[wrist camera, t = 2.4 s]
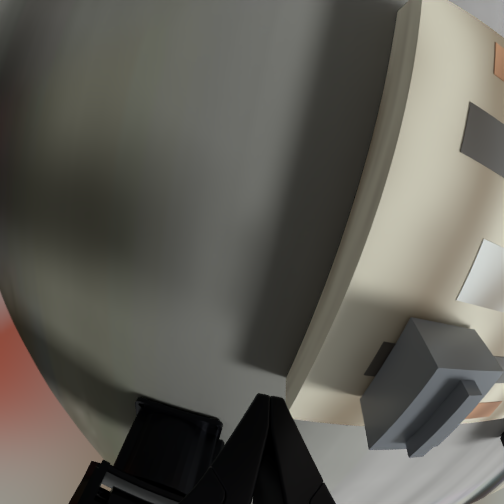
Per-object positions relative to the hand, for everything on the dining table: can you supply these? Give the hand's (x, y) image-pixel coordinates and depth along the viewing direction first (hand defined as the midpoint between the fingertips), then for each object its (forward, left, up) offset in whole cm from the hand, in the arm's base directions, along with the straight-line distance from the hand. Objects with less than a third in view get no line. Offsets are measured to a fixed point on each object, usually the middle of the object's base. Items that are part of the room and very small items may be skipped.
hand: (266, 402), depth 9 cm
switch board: (+12, +5, -6) cm, 14 cm away
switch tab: (+7, 0, -3) cm, 8 cm away
